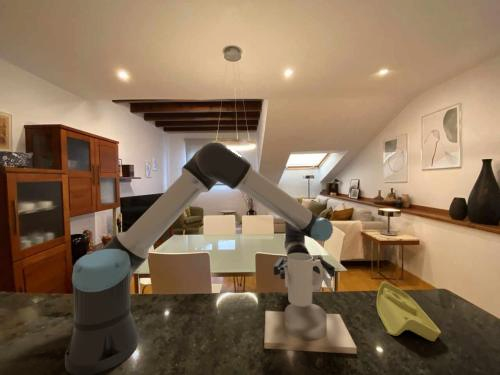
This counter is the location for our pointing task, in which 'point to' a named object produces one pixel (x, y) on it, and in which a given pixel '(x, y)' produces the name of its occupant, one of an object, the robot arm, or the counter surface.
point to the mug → (302, 278)
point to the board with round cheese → (307, 330)
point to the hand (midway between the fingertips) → (308, 282)
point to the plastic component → (403, 313)
